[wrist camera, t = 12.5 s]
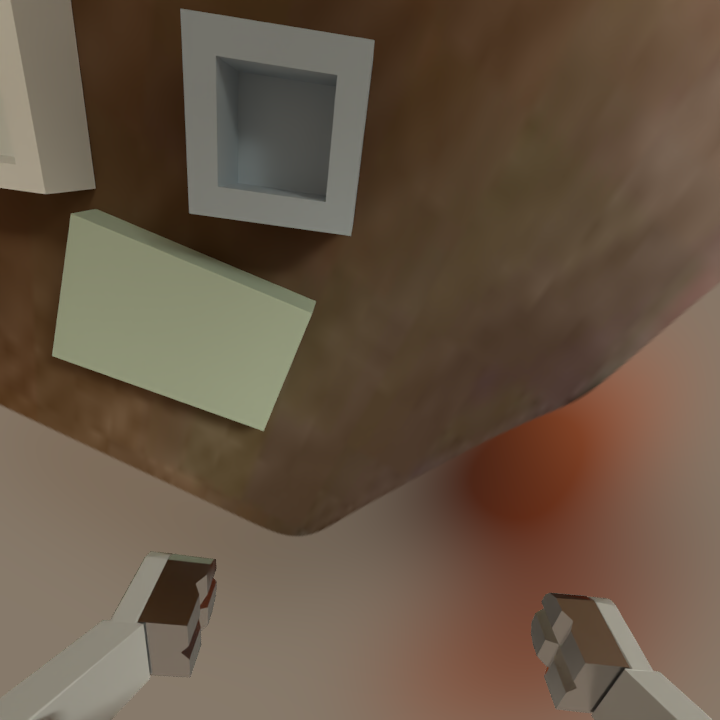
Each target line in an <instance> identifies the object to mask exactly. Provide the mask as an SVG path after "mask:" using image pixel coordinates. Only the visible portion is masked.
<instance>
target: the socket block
mask: <svg viewBox="0 0 720 720" xmlns="http://www.w3.org/2000/svg"><path fill="white" fill-rule="evenodd" d="M180 12H181V35H182V59H183V82H184V105H185V129H186V152H187V176H188V199H189V213H190V214H197V215H204V216H211V217H218V218H225V219H233V220H240V221H247V222H254V223H261V224H268V225H275V226H283V227H290V228H297V229H304V230H311V231H318V232H326V233H333V234H340V235H347V236H351V233H352V227H353V221H354V213H355V205H356V197H357V189H358V180H359V172H360V164H361V156H362V147H363V139H364V131H365V123H366V115H367V106H368V98H369V90H370V82H371V74H372V65H373V54H374V42H375V40H371V39H365V38H359V37H352V36H346V35H340V34H334V33H328V32H322V31H316V30H310V29H303V28H297V27H291V26H285V25H279V24H273V23H267V22H260V21H254V20H248V19H242V18H236V17H230V16H224V15H218V14H211V13H205V12H199V11H193V10H187V9H181V8H180Z"/></svg>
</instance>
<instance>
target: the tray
mask: <svg viewBox="0 0 720 720" xmlns="http://www.w3.org/2000/svg"><path fill="white" fill-rule="evenodd" d="M0 188H4V189H12V190H19V191H26V192H33V193H40V194H53V193H62V192H70V191H79V190H88V189H96V187H95V179H94V172H93V164H92V157H91V149H90V142H89V134H88V127H87V119H86V111H85V104H84V96H83V89H82V81H81V74H80V66H79V59H78V51H77V43H76V36H75V28H74V21H73V13H72V6H71V0H0Z"/></svg>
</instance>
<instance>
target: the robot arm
mask: <svg viewBox="0 0 720 720" xmlns="http://www.w3.org/2000/svg"><path fill="white" fill-rule="evenodd" d="M215 571H216V559H209V558H201V557H193V556H186V555H178V554H171V553H161V552H150V553H149V554H148V555H147V556H146V557H145V558H144V560H143V562H142V563H141V565H140V567H139V569H138V571H137V573H136V574H135V576H134V578H133V580H132V581H131V583H130V585H129V587H128V589H127V591H126V592H125V594H124V596H123V598H122V600H121V601H120V603H119V605H118V607H117V609H116V610H115V613H114V614H113V616H112V618H111V620H103V621H101V622H100V623H98V624H97V625H96V626H94V627H93V628H92V629H91V630H89V631H88V632H87V633H86V634H84V635H83V636H81V637H80V638H79V639H77V640H76V641H75V642H74V643H72V644H71V645H70V646H68V647H67V648H66V649H64V650H63V651H62V652H60V653H59V654H58V655H56V656H55V657H54V658H52V659H51V660H50V661H49V662H47V663H46V664H45V665H43V666H42V667H41V668H39V669H38V670H37V671H35V672H34V673H33V674H31V675H30V676H29V677H27V678H26V679H25V680H24V681H22V682H21V683H20V684H18V685H17V686H16V687H14V688H13V689H12V690H10V691H9V692H8V693H6V694H5V695H4V696H3V697H1V698H0V720H112V719H113V718H114V716H115V715H116V714H117V713H118V712H119V711H120V710H121V709H122V708H123V707H124V706H125V705H126V704H127V703H128V701H129V700H130V699H131V698H132V697H133V696H134V695H135V694H136V693H137V692H138V691H139V690H140V689H141V687H142V686H143V685H144V684H145V683H146V682H147V681H148V680H149V679H150V675H155V676H156V675H157V676H173V677H175V676H176V677H191V674H192V671H193V668H194V665H195V661H196V659H197V656H198V653H199V650H200V647H201V631H202V630H203V629H204V628H205V627H206V626H207V625H208V623H209V620H210V616H211V613H212V610H213V605H214V601H215V596H216V580H215V579H214V578H213V577H214V574H215ZM542 604H543V607H544V609H542V610H540V611H539V612H537V613H535V616H534V618H533V620H532V625H531V626H532V628H531V636H532V641H533V646H534V649H535V651H536V654H537V656H538V658H539V659H540V660H541V661H542V662H543V663H544V664H545V665H546V666H547V668H546V671H545V675H544V677H545V680H546V683H547V686H548V688H549V691H550V694H551V697H552V700H553V702H554V705H555V708H556V709H560V710H568V711H576V712H585V713H593V714H592V715H591V716H592V717H593V718H594V720H712V719H711V718H710V717H709V716H708V715H707V714H706V713H705V712H704V711H702V710H701V709H700V708H699V707H698V706H697V705H696V704H695V703H694V702H692V701H691V700H690V699H689V698H688V697H687V696H686V695H685V694H684V693H682V692H681V691H680V690H679V689H678V688H677V687H676V686H675V685H674V684H673V683H671V682H670V681H669V680H668V679H667V678H666V677H665V676H664V675H663V674H661V673H660V672H657V671H653V670H652V668H651V666H650V664H649V663H648V661H647V659H646V657H645V656H644V654H643V652H642V650H641V649H640V647H639V645H638V644H637V642H636V640H635V638H634V636H633V635H632V633H631V631H630V630H629V628H628V626H627V624H626V623H625V621H624V619H623V617H622V616H621V614H620V612H619V610H618V609H617V607H616V605H615V604H614V603H613V602H612V601H611V600H610V599H606V598H596V597H587V596H581V595H570V594H558V593H548V594H546V595H545V596H544V598H543V600H542Z"/></svg>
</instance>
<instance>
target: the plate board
mask: <svg viewBox="0 0 720 720" xmlns="http://www.w3.org/2000/svg"><path fill="white" fill-rule="evenodd" d="M315 303H316V301H314V300H312V299H309V298H307V297H305V296H302V295H300V294H297V293H295V292H293V291H290V290H288V289H286V288H283V287H281V286H278V285H276V284H274V283H271V282H269V281H266V280H264V279H262V278H259V277H257V276H255V275H252V274H250V273H247V272H245V271H243V270H240V269H238V268H236V267H233V266H231V265H228V264H226V263H224V262H221V261H219V260H217V259H214V258H212V257H209V256H207V255H205V254H202V253H200V252H198V251H195V250H193V249H190V248H188V247H186V246H183V245H181V244H178V243H176V242H174V241H171V240H169V239H167V238H164V237H162V236H159V235H157V234H155V233H152V232H150V231H148V230H145V229H143V228H140V227H138V226H136V225H133V224H131V223H129V222H126V221H124V220H121V219H119V218H117V217H114V216H112V215H109V214H107V213H105V212H102V211H100V210H98V209H93V210H87V211H82V212H77V213H71V217H70V224H69V232H68V239H67V247H66V254H65V262H64V269H63V277H62V284H61V292H60V300H59V307H58V315H57V322H56V330H55V337H54V345H53V352H52V356H54V357H56V358H59V359H62V360H65V361H68V362H70V363H73V364H76V365H79V366H82V367H85V368H87V369H90V370H93V371H96V372H99V373H101V374H104V375H107V376H110V377H113V378H115V379H118V380H121V381H124V382H127V383H130V384H132V385H135V386H138V387H141V388H144V389H146V390H149V391H152V392H155V393H158V394H161V395H163V396H166V397H169V398H172V399H175V400H177V401H180V402H183V403H186V404H189V405H191V406H194V407H197V408H200V409H203V410H206V411H208V412H211V413H214V414H217V415H220V416H222V417H225V418H228V419H231V420H234V421H236V422H239V423H242V424H245V425H248V426H251V427H253V428H256V429H259V430H262V431H264V429H265V426H266V424H267V421H268V419H269V417H270V414H271V412H272V409H273V407H274V405H275V402H276V400H277V397H278V395H279V392H280V390H281V388H282V385H283V383H284V380H285V378H286V376H287V373H288V371H289V368H290V366H291V363H292V361H293V359H294V356H295V354H296V351H297V349H298V346H299V344H300V342H301V339H302V337H303V334H304V332H305V330H306V327H307V325H308V322H309V320H310V317H311V315H312V312H313V309H314V306H315Z"/></svg>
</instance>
